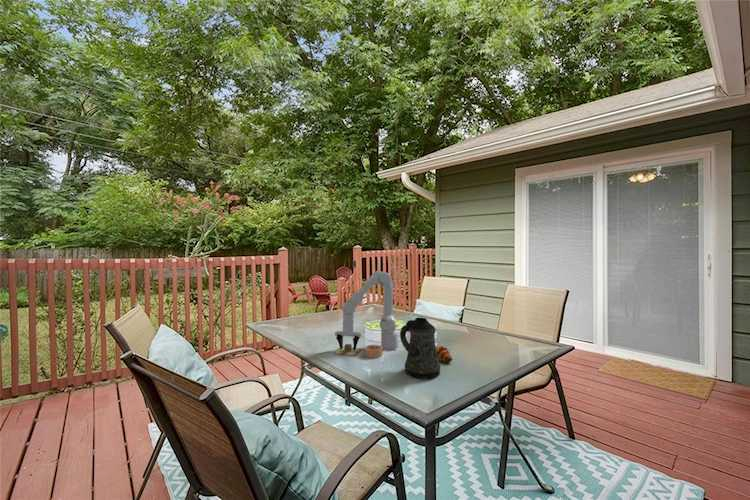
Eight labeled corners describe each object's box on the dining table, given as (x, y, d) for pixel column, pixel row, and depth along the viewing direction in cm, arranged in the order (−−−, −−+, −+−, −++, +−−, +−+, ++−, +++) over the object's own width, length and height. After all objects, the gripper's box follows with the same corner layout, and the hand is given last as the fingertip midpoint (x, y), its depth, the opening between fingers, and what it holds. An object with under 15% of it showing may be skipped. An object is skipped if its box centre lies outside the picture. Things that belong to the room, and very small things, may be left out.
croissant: (423, 358, 187) (417, 346, 186) (437, 348, 191) (431, 336, 190) (447, 371, 168) (440, 358, 167) (461, 359, 172) (455, 346, 170)
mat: (362, 349, 191) (362, 348, 191) (355, 357, 178) (355, 356, 178) (340, 347, 194) (340, 346, 194) (332, 355, 182) (332, 354, 182)
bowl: (383, 354, 184) (383, 345, 184) (379, 359, 175) (380, 350, 175) (367, 352, 186) (367, 344, 186) (363, 357, 177) (363, 349, 177)
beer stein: (440, 381, 149) (440, 324, 148) (395, 377, 153) (396, 321, 152) (440, 367, 165) (441, 316, 164) (400, 364, 169) (401, 314, 168)
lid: (360, 349, 190) (360, 342, 190) (354, 355, 180) (354, 348, 180) (341, 347, 193) (341, 341, 193) (334, 353, 182) (334, 347, 182)
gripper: (333, 325, 184) (332, 350, 184) (358, 327, 180) (358, 352, 181) (337, 322, 191) (337, 346, 191) (362, 324, 187) (362, 348, 187)
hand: (348, 349), depth 186 cm, fingers open, 7 cm apart
